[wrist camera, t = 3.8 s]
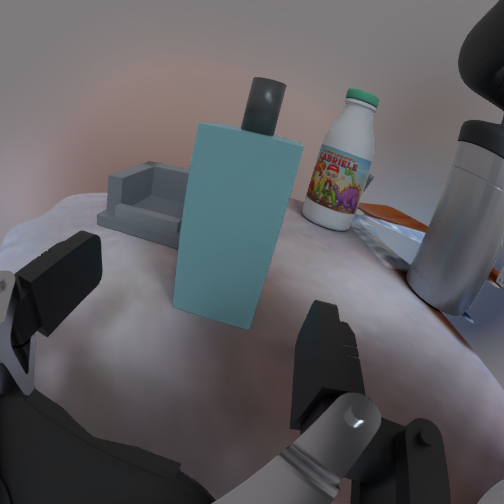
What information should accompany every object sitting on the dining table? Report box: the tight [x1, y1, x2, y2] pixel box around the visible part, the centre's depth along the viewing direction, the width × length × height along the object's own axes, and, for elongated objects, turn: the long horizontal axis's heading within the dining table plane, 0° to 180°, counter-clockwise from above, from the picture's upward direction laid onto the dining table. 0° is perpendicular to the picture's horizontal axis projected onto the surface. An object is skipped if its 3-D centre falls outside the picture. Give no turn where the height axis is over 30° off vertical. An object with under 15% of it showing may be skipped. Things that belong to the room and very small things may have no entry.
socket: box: [97, 162, 190, 249], centre depth 27 cm, size 10×10×4 cm
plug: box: [173, 77, 304, 330], centre depth 16 cm, size 5×5×14 cm
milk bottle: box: [302, 89, 379, 231], centre depth 36 cm, size 8×8×20 cm
